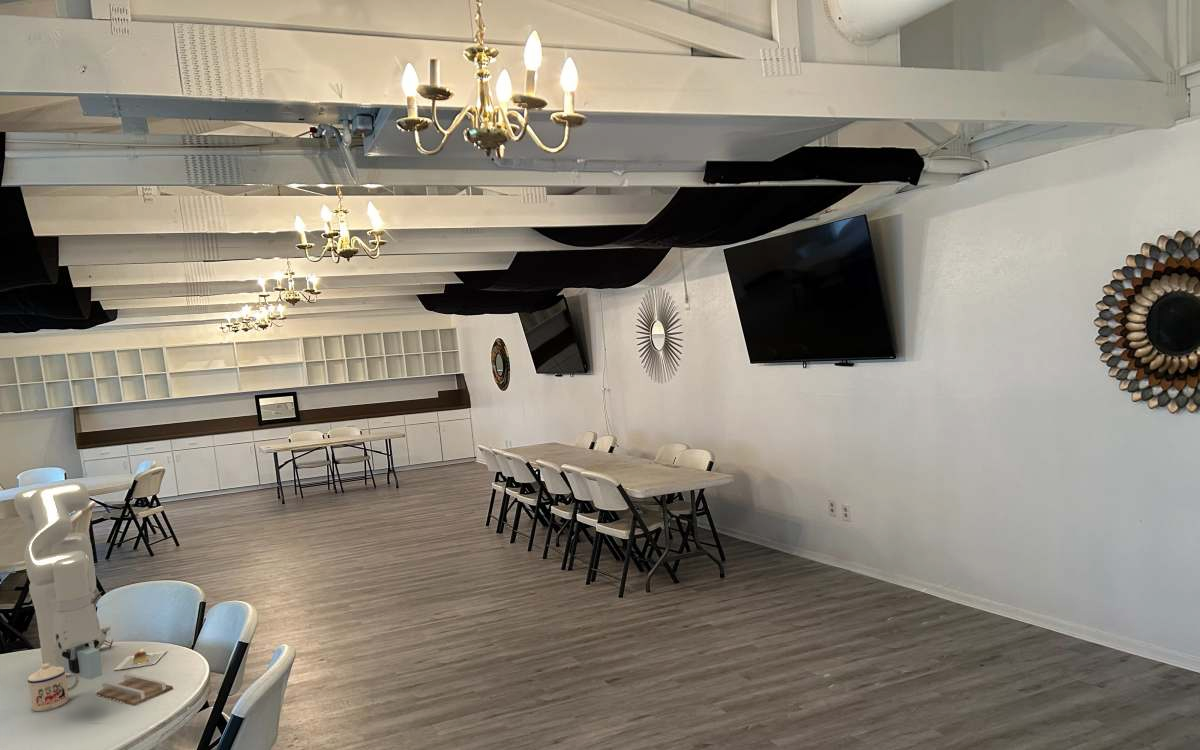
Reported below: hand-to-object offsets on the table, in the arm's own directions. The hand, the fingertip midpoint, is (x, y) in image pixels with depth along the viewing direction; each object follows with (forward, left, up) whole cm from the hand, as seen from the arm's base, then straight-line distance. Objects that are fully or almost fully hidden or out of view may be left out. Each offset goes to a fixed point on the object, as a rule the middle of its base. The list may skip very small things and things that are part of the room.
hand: (82, 669), depth 224 cm
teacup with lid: (-18, 0, -12) cm, 22 cm away
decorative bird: (-54, +26, -13) cm, 62 cm away
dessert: (-26, +28, -13) cm, 40 cm away
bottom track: (-2, +13, -12) cm, 18 cm away
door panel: (0, 0, -1) cm, 1 cm away
